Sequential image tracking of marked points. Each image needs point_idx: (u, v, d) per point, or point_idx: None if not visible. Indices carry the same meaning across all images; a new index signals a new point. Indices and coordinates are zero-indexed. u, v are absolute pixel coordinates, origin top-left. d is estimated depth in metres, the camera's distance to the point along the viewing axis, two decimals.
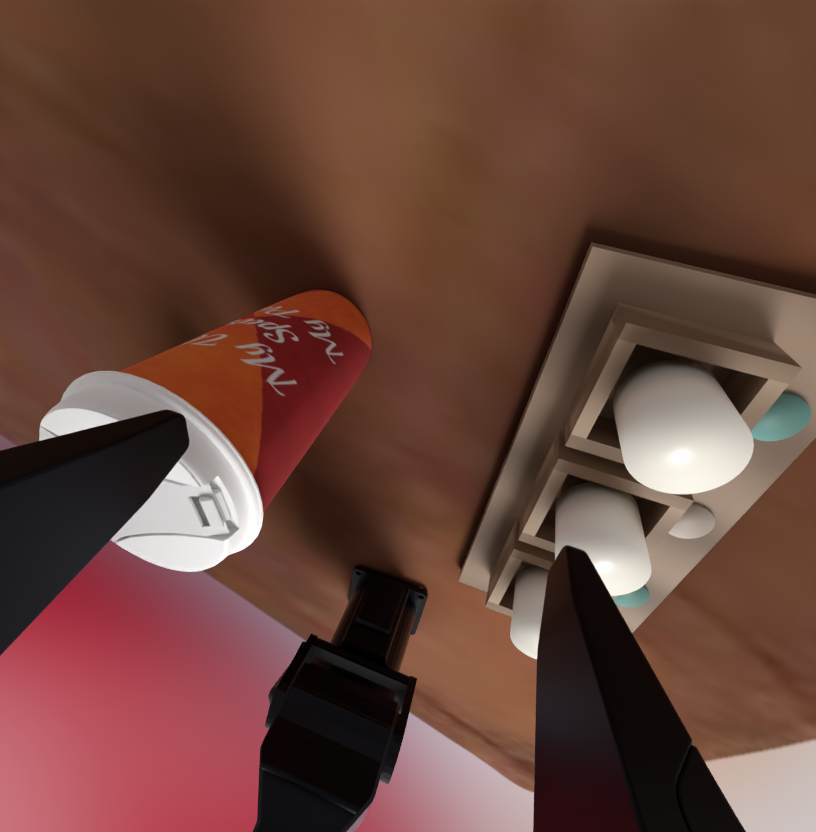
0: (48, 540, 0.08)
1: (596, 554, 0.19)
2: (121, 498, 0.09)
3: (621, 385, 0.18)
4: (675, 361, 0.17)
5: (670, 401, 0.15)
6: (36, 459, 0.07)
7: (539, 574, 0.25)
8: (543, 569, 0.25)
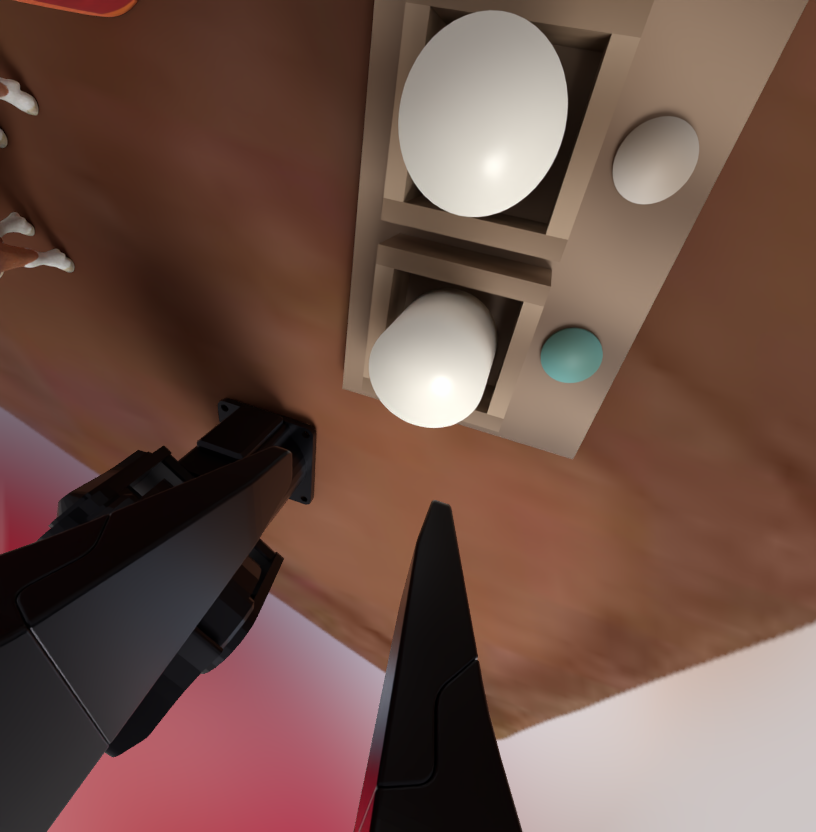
0: (180, 595, 0.07)
1: (463, 85, 0.10)
2: (239, 543, 0.08)
3: None
4: None
5: None
6: (174, 512, 0.07)
7: (424, 296, 0.15)
8: (431, 292, 0.16)
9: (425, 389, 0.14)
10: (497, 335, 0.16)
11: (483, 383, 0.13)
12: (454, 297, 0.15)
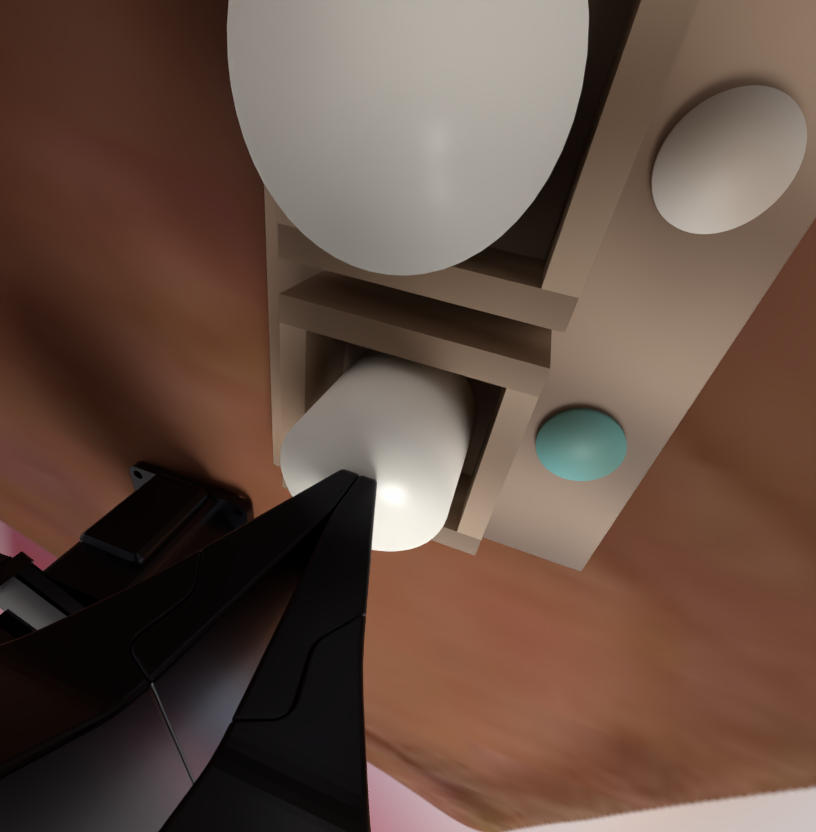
0: (265, 631, 0.07)
1: None
2: None
3: None
4: None
5: None
6: (263, 546, 0.07)
7: (369, 355, 0.11)
8: None
9: None
10: (475, 407, 0.11)
11: (447, 503, 0.09)
12: None
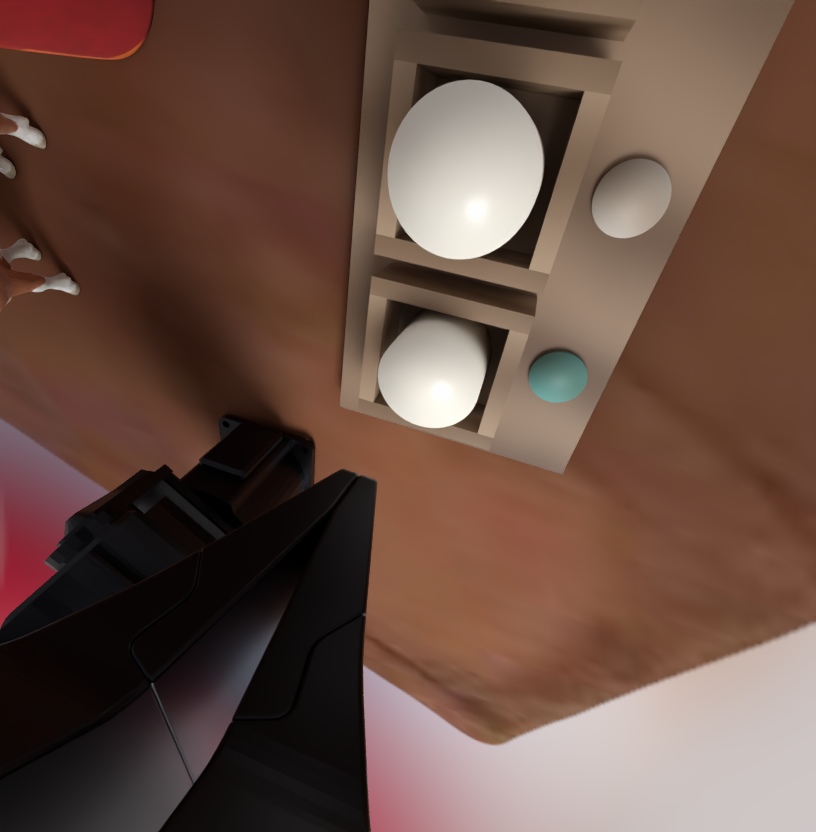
0: (265, 630, 0.07)
1: (446, 143, 0.10)
2: None
3: None
4: None
5: None
6: (264, 546, 0.07)
7: (425, 311, 0.18)
8: None
9: (427, 394, 0.16)
10: None
11: (478, 389, 0.15)
12: None
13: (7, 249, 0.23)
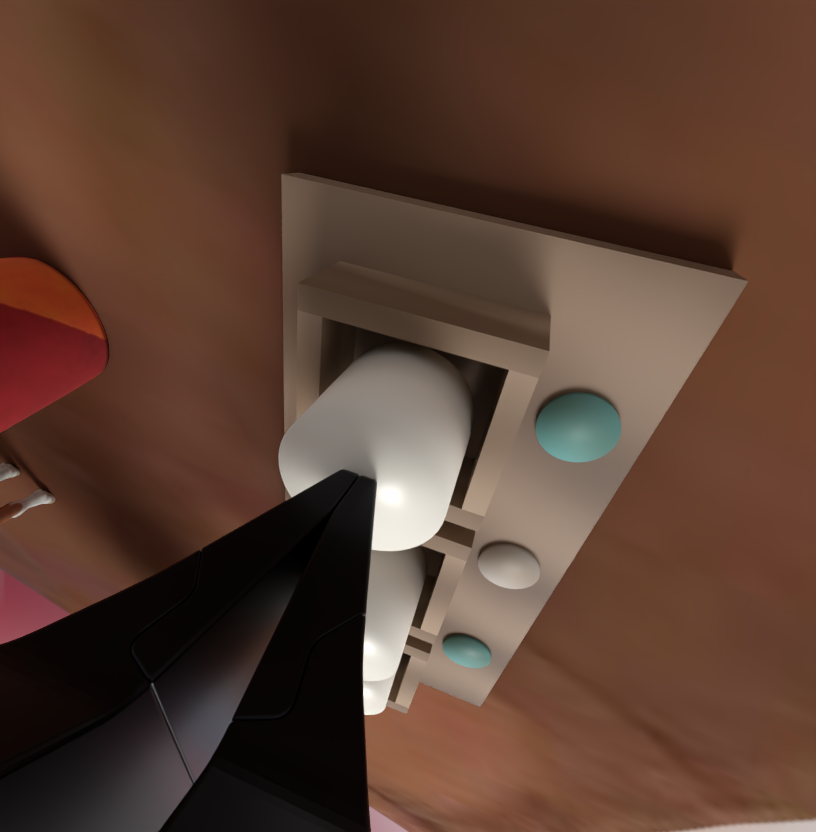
0: (265, 630, 0.07)
1: None
2: None
3: None
4: (395, 345, 0.11)
5: (318, 406, 0.09)
6: (263, 546, 0.07)
7: None
8: None
9: None
10: None
11: (384, 703, 0.18)
12: None
13: None
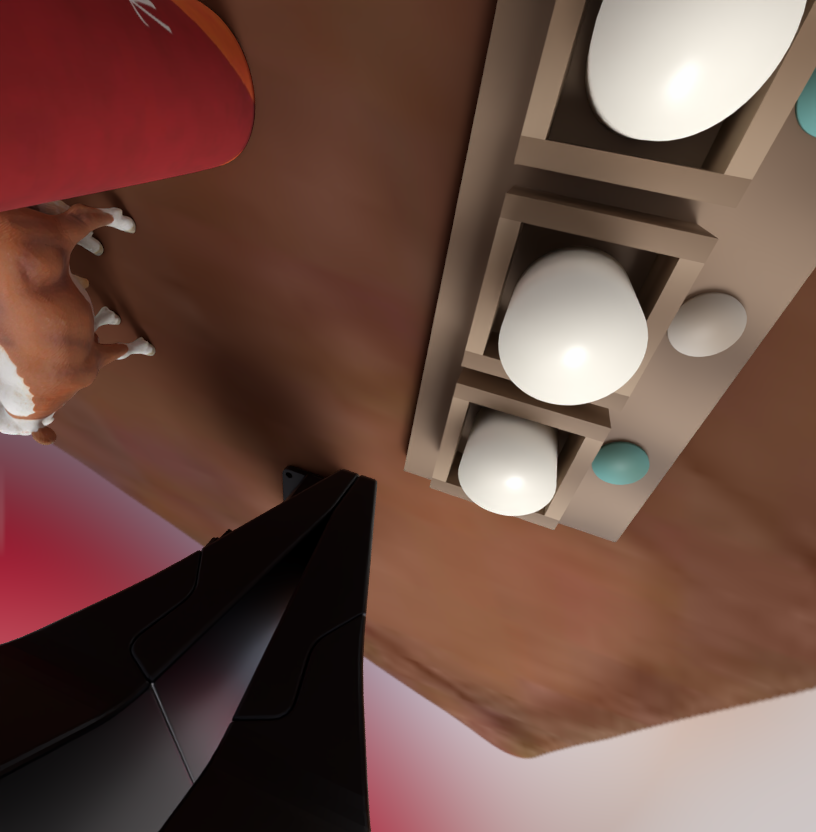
0: (265, 631, 0.07)
1: (559, 319, 0.12)
2: None
3: None
4: None
5: None
6: (263, 546, 0.07)
7: None
8: None
9: (505, 488, 0.18)
10: None
11: (554, 489, 0.17)
12: None
13: None
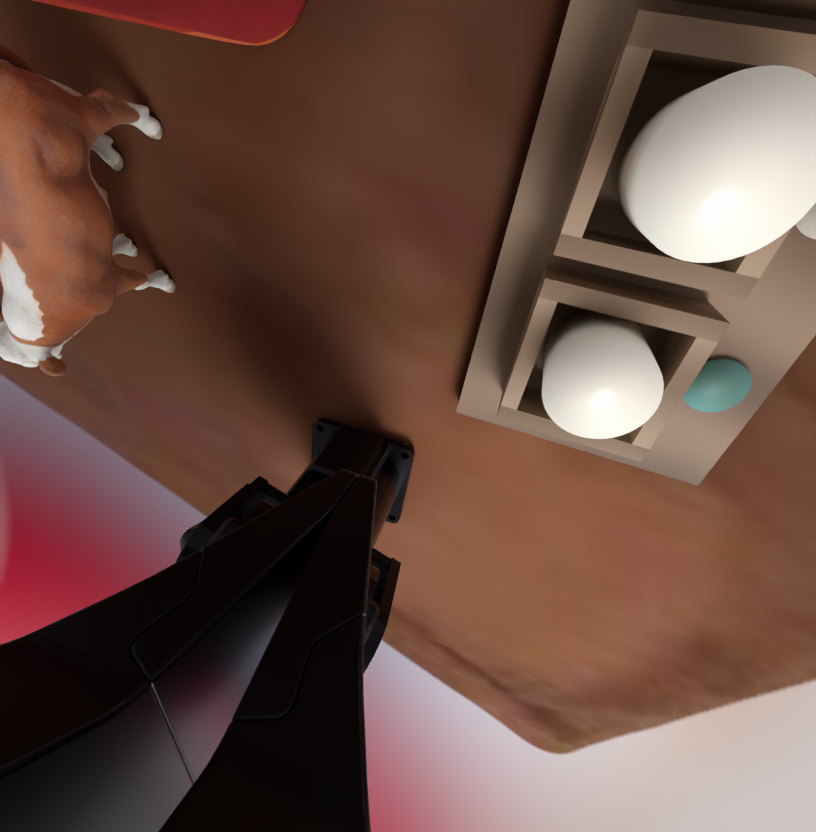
0: (265, 631, 0.07)
1: (723, 136, 0.10)
2: None
3: None
4: None
5: None
6: (264, 546, 0.07)
7: (583, 316, 0.17)
8: (588, 311, 0.17)
9: (597, 403, 0.15)
10: None
11: (660, 399, 0.15)
12: (617, 317, 0.16)
13: None
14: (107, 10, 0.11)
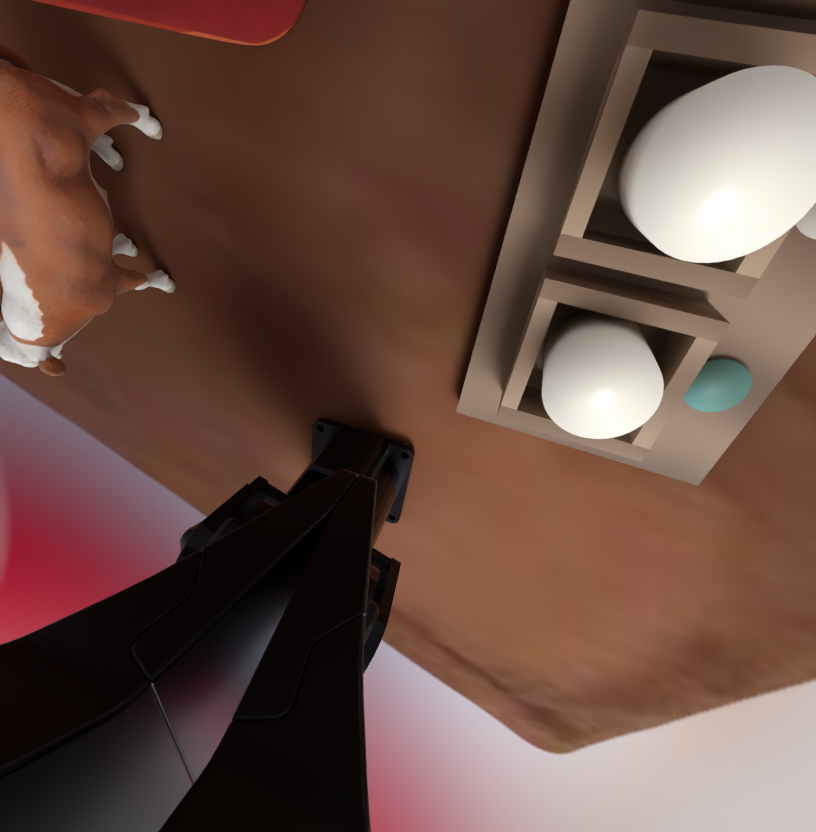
0: (265, 631, 0.07)
1: (723, 136, 0.10)
2: None
3: None
4: None
5: None
6: (264, 546, 0.07)
7: (583, 316, 0.17)
8: (588, 311, 0.17)
9: (597, 403, 0.15)
10: None
11: (660, 399, 0.15)
12: (617, 317, 0.16)
13: None
14: (107, 10, 0.11)
